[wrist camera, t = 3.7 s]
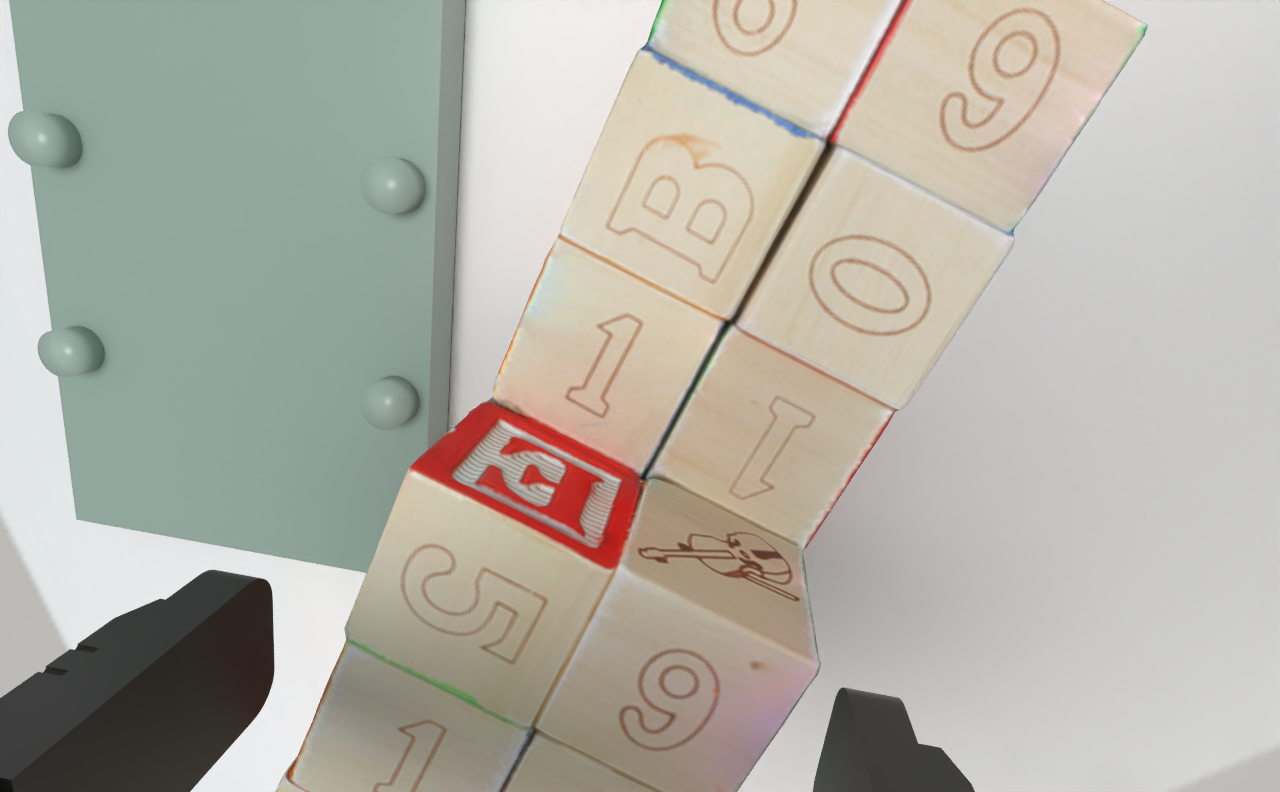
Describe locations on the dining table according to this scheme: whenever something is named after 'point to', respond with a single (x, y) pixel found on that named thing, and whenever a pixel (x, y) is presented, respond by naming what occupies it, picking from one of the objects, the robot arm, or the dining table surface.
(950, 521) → the dining table surface
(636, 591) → the stack of blocks
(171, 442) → the baseplate
